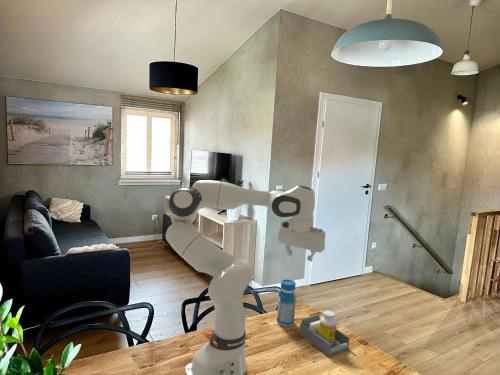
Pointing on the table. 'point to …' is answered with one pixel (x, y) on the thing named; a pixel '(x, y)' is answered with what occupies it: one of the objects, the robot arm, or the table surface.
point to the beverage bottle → (286, 303)
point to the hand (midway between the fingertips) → (299, 257)
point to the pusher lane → (339, 342)
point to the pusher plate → (315, 326)
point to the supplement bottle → (328, 326)
